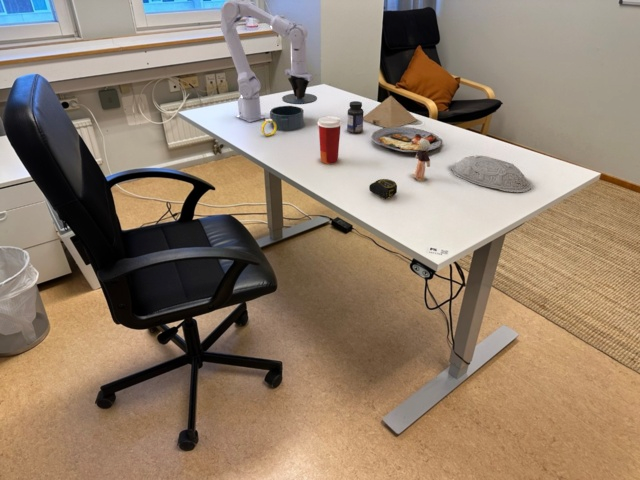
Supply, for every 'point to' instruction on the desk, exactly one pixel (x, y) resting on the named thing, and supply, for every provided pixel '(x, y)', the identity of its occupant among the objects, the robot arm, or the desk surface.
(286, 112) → the pot
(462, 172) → the grey oval dome
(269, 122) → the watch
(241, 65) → the robot arm
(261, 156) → the desk surface
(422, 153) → the grandmother figurine
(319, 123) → the paper cup
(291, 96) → the lid
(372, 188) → the tape measure
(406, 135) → the food plate
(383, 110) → the model pyramid
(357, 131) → the pill bottle
